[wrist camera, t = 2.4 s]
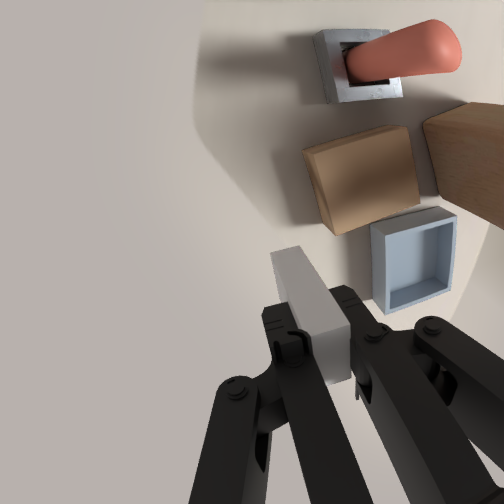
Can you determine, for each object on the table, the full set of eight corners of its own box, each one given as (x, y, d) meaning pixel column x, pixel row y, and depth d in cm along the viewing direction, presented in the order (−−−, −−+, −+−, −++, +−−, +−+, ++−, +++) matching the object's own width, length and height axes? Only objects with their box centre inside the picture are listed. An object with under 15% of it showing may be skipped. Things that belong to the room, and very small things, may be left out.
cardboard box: (300, 150, 29) (313, 154, 25) (386, 124, 29) (406, 126, 25) (322, 222, 32) (335, 236, 29) (400, 193, 32) (420, 203, 28)
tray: (369, 223, 33) (385, 235, 29) (439, 206, 33) (457, 215, 30) (372, 299, 37) (385, 315, 34) (435, 277, 37) (450, 290, 34)
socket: (312, 37, 24) (322, 29, 21) (374, 35, 24) (389, 29, 22) (327, 103, 27) (339, 102, 24) (387, 97, 27) (403, 97, 24)
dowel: (332, 51, 25) (413, 16, 12) (364, 50, 25) (454, 23, 12) (339, 85, 26) (427, 71, 14) (371, 83, 26) (466, 73, 14)
